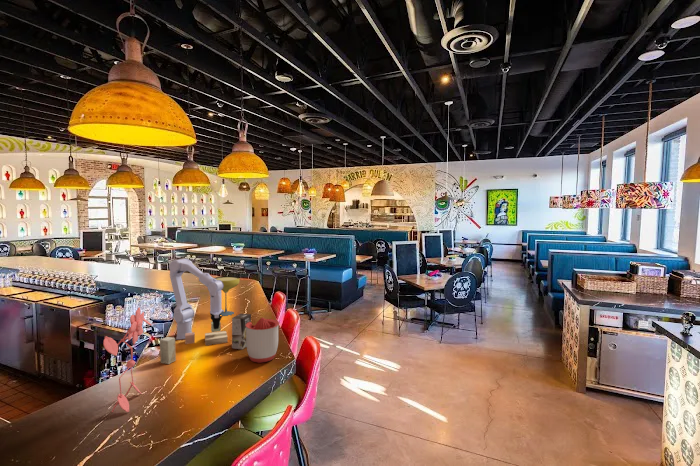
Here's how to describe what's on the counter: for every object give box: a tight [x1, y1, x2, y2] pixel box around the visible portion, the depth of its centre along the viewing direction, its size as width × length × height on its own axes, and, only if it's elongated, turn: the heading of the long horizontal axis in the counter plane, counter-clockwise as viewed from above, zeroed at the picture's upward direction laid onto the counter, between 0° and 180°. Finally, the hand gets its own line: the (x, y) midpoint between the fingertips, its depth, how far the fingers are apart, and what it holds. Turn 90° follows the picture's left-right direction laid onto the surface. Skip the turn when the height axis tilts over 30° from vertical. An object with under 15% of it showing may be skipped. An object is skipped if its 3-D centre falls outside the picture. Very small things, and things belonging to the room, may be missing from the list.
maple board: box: [204, 330, 228, 346], centre depth 184 cm, size 11×11×3 cm
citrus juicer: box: [246, 317, 280, 364], centre depth 163 cm, size 16×17×20 cm
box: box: [159, 336, 177, 365], centre depth 157 cm, size 5×4×11 cm
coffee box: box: [231, 313, 252, 350], centre depth 177 cm, size 9×6×16 cm
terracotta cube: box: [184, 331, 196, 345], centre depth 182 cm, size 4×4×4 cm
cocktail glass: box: [214, 275, 240, 317], centre depth 234 cm, size 18×18×25 cm
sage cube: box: [210, 320, 222, 333], centre depth 184 cm, size 4×4×4 cm
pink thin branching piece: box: [103, 307, 153, 413], centre depth 122 cm, size 15×26×35 cm, turn 11°
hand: (216, 327), depth 184 cm, fingers closed on sage cube, 4 cm apart
